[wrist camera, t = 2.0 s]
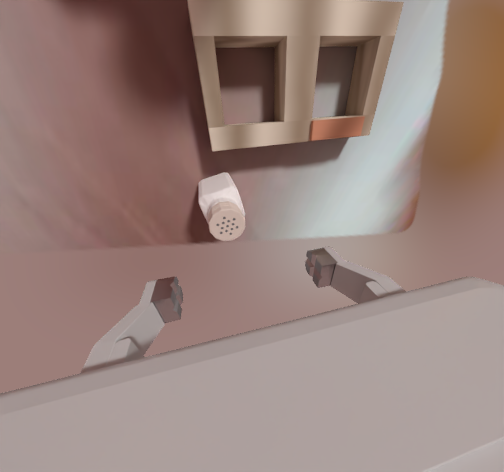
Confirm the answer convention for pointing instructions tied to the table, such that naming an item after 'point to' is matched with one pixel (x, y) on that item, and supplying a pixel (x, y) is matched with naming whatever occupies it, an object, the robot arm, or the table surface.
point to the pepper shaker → (222, 207)
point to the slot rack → (294, 63)
